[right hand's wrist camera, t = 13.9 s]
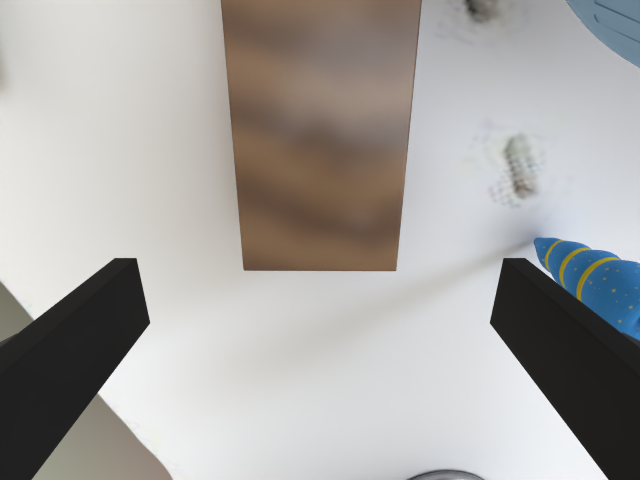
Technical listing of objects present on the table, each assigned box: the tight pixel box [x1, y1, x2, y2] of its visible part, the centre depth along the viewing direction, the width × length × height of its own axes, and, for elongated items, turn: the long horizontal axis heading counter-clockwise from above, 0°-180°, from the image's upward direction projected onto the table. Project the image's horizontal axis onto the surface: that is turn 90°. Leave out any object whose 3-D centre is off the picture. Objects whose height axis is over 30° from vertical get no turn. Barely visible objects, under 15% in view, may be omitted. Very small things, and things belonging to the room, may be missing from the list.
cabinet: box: [221, 0, 422, 271], centre depth 26 cm, size 20×11×10 cm, turn 0°
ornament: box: [534, 238, 640, 340], centre depth 27 cm, size 5×5×15 cm
